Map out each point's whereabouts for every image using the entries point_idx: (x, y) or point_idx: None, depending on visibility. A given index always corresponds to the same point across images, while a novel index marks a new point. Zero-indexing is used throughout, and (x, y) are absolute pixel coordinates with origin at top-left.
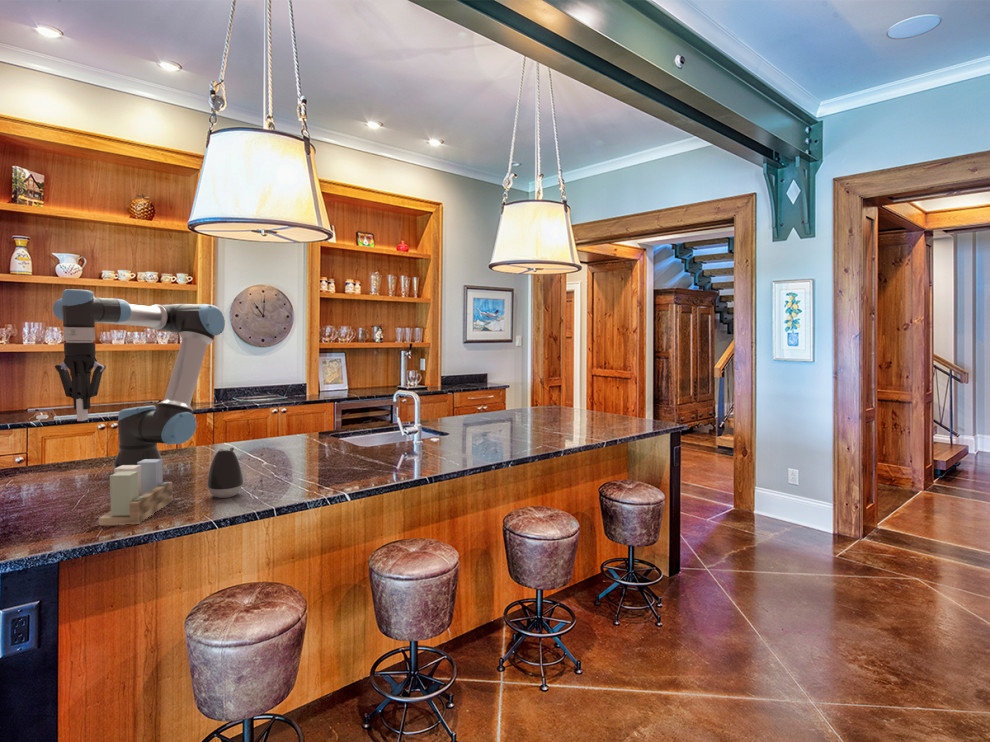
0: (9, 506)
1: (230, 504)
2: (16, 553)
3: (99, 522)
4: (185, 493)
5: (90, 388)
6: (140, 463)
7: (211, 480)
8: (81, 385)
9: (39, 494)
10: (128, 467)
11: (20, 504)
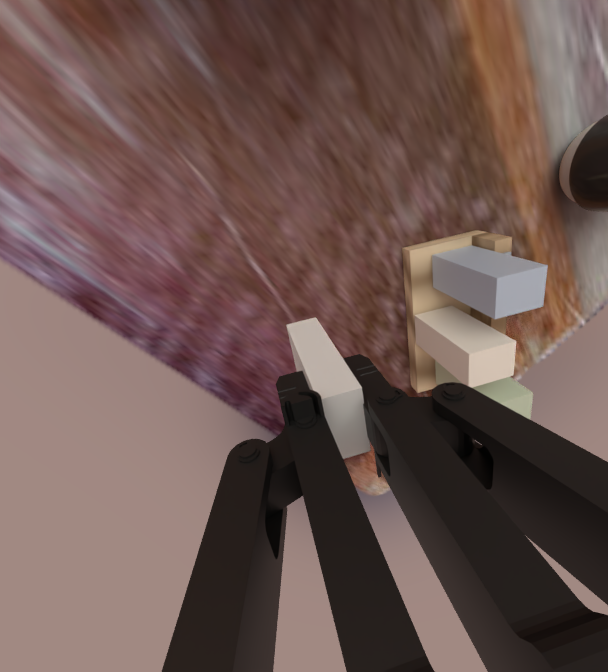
0: (127, 338)
1: (600, 229)
2: (370, 486)
3: (414, 388)
4: (481, 160)
5: (498, 503)
6: (500, 316)
7: (604, 208)
8: (431, 560)
9: (88, 236)
10: (496, 369)
11: (136, 320)
